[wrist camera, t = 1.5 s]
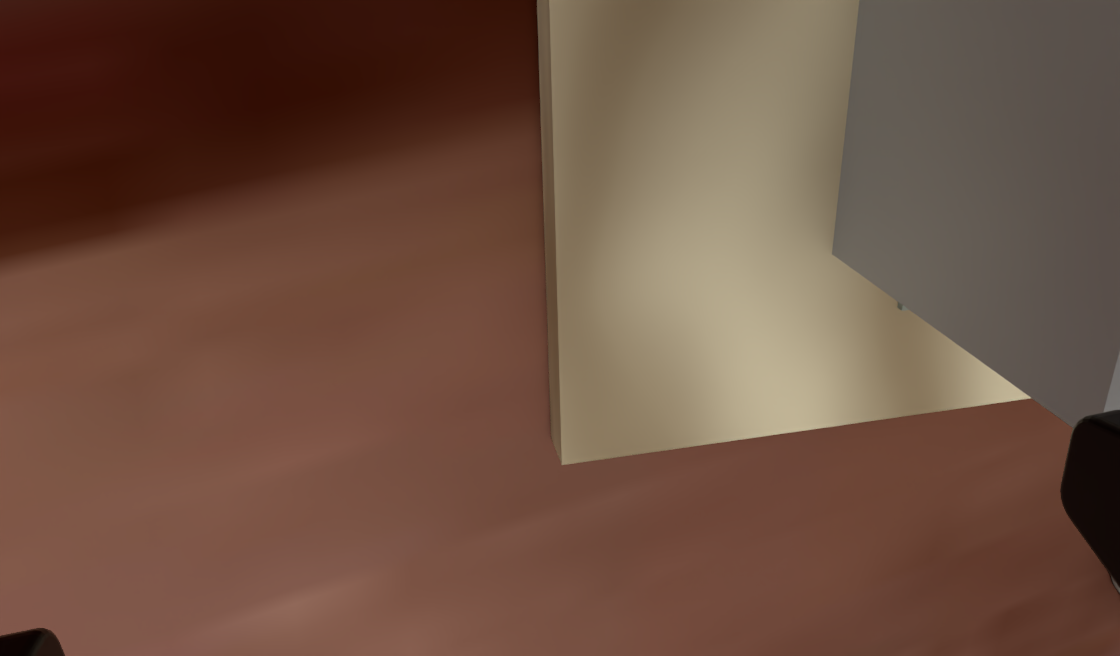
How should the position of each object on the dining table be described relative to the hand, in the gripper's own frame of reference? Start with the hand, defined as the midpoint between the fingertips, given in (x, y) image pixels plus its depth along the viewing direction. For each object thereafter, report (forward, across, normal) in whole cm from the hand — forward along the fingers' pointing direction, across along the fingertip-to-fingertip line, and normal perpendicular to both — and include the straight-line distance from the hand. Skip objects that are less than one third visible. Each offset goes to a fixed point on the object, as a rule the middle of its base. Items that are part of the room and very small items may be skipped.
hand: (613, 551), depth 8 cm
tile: (+11, -9, -1) cm, 14 cm away
